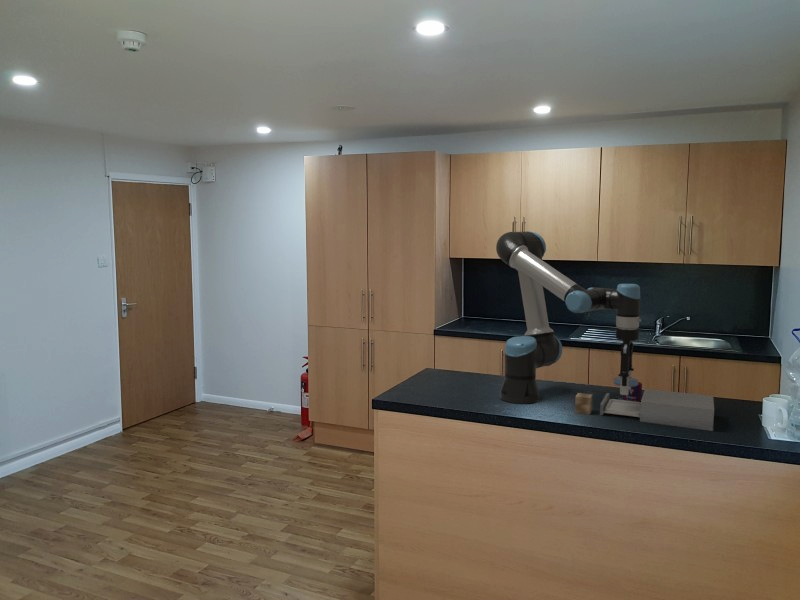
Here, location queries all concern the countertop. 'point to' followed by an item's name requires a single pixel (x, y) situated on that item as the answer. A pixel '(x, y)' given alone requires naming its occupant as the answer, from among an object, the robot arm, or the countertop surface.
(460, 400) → the countertop surface
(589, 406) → the block
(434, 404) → the countertop surface
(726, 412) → the countertop surface
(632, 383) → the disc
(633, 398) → the mug
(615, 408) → the tray
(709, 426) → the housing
